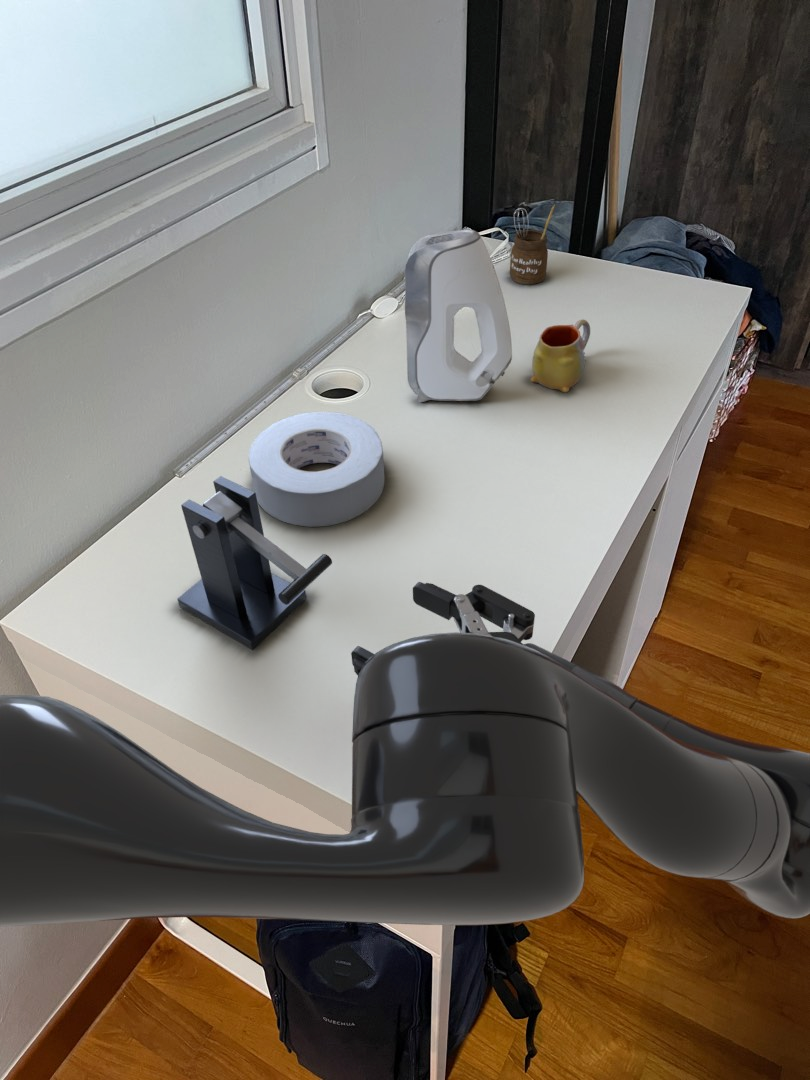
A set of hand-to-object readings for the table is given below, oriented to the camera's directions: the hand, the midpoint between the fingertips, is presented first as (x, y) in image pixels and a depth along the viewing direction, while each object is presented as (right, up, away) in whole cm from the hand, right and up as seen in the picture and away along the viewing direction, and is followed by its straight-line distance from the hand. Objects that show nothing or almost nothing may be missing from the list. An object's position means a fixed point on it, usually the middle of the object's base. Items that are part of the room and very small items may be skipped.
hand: (385, 622), depth 68 cm
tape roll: (-8, +13, +28) cm, 33 cm away
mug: (+24, +30, +45) cm, 59 cm away
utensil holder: (+22, +50, +67) cm, 86 cm away
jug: (+8, +26, +42) cm, 50 cm away
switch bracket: (-15, 0, +15) cm, 21 cm away
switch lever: (-12, +6, +6) cm, 15 cm away
